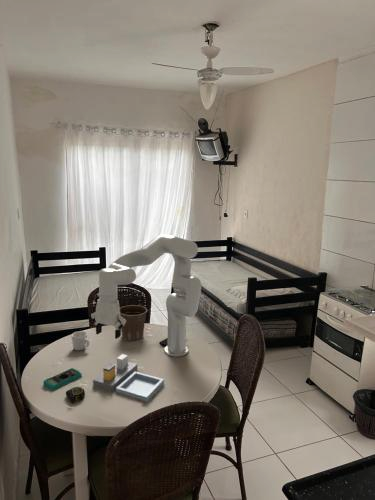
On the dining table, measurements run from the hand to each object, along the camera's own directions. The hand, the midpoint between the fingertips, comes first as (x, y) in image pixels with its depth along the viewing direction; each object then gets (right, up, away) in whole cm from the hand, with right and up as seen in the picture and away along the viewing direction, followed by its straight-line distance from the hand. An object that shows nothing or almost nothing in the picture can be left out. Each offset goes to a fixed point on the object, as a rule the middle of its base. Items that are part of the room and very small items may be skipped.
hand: (108, 335), depth 159 cm
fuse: (+4, -20, +12) cm, 24 cm away
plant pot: (+3, -13, +51) cm, 53 cm away
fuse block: (+2, -22, +8) cm, 23 cm away
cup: (-22, -16, +35) cm, 44 cm away
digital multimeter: (-21, -22, +5) cm, 31 cm away
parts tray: (+14, -23, 0) cm, 27 cm away
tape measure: (-12, -25, -8) cm, 29 cm away
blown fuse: (0, -22, +3) cm, 22 cm away
